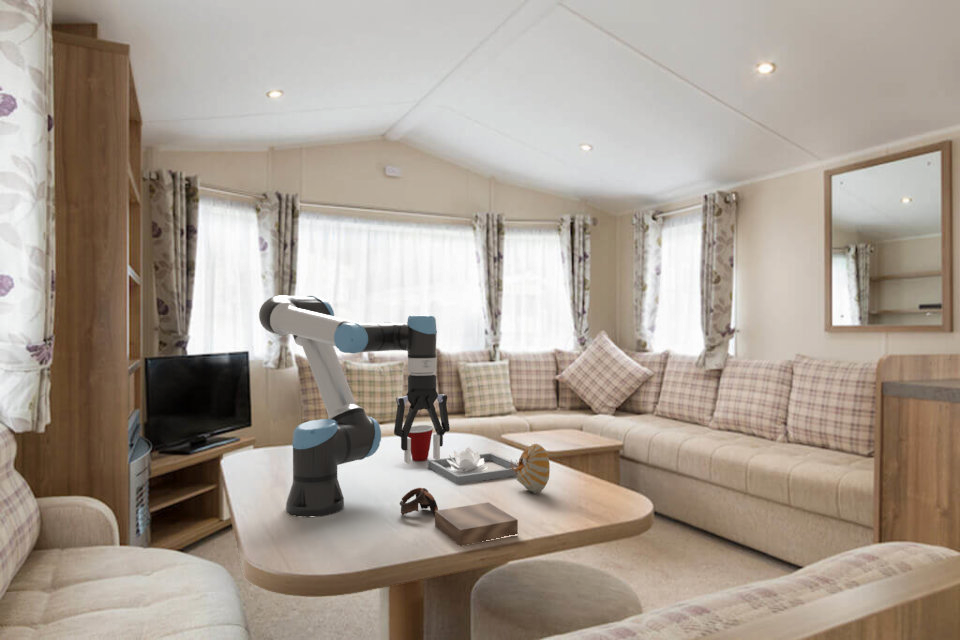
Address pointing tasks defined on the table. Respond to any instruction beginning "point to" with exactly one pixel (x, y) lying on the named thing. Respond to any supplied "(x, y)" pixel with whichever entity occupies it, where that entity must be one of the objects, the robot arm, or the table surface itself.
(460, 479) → the slate frame
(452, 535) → the brown wooden square block
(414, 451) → the plastic cup
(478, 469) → the lotus flower
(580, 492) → the table surface
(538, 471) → the nautilus
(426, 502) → the broken clay pottery vessel
